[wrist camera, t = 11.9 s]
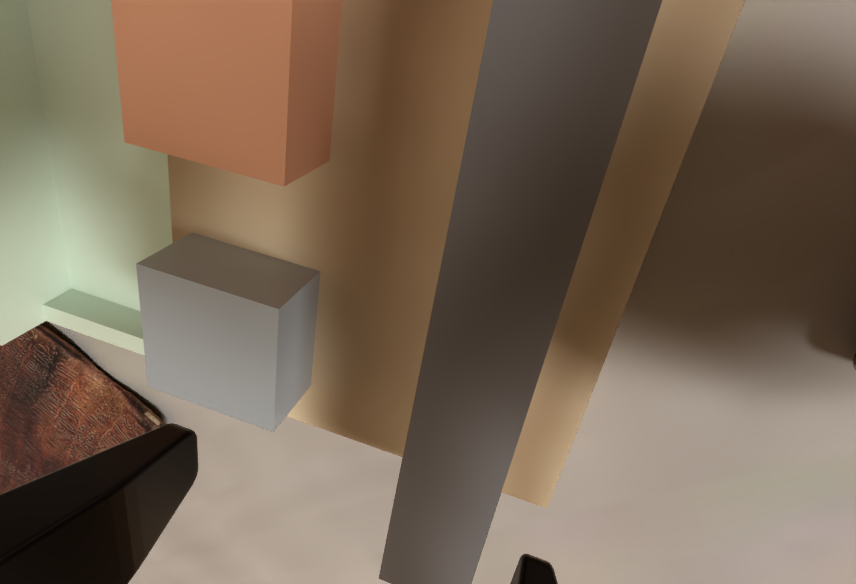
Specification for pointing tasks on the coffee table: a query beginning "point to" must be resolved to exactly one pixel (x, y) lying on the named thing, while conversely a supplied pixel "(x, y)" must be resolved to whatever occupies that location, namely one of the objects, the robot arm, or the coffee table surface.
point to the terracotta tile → (230, 81)
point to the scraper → (508, 263)
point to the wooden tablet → (59, 408)
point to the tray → (72, 177)
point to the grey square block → (228, 328)
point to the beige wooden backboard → (431, 209)
